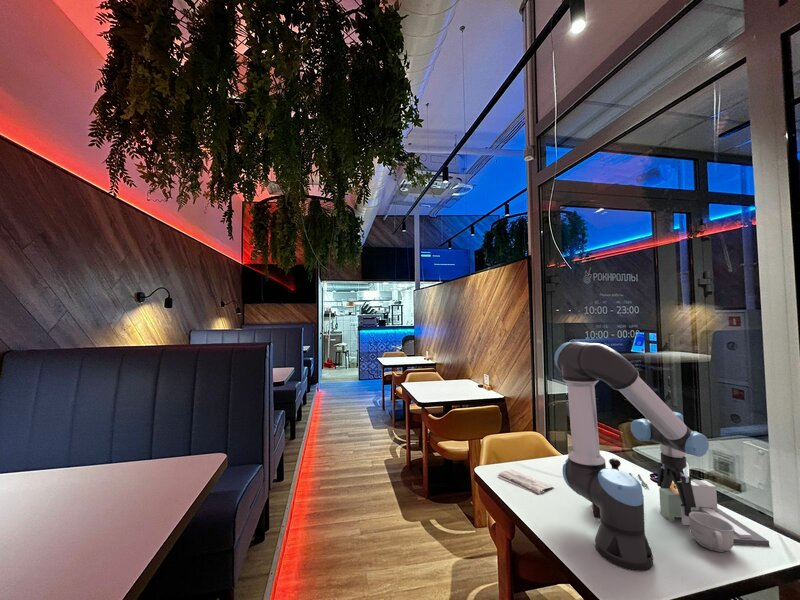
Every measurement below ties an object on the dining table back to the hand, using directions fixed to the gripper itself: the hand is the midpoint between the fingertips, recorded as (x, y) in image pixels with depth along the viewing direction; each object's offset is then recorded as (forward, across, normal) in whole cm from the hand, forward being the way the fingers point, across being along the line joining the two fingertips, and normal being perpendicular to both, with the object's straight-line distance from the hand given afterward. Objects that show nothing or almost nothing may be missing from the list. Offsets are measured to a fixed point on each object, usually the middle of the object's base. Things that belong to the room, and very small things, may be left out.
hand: (676, 516), depth 127 cm
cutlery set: (+1, +32, +9) cm, 33 cm away
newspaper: (+1, +23, +49) cm, 54 cm away
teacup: (0, -18, +1) cm, 18 cm away
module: (0, 0, 0) cm, 0 cm away
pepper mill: (0, +2, +23) cm, 23 cm away
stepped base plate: (0, -2, -12) cm, 12 cm away
